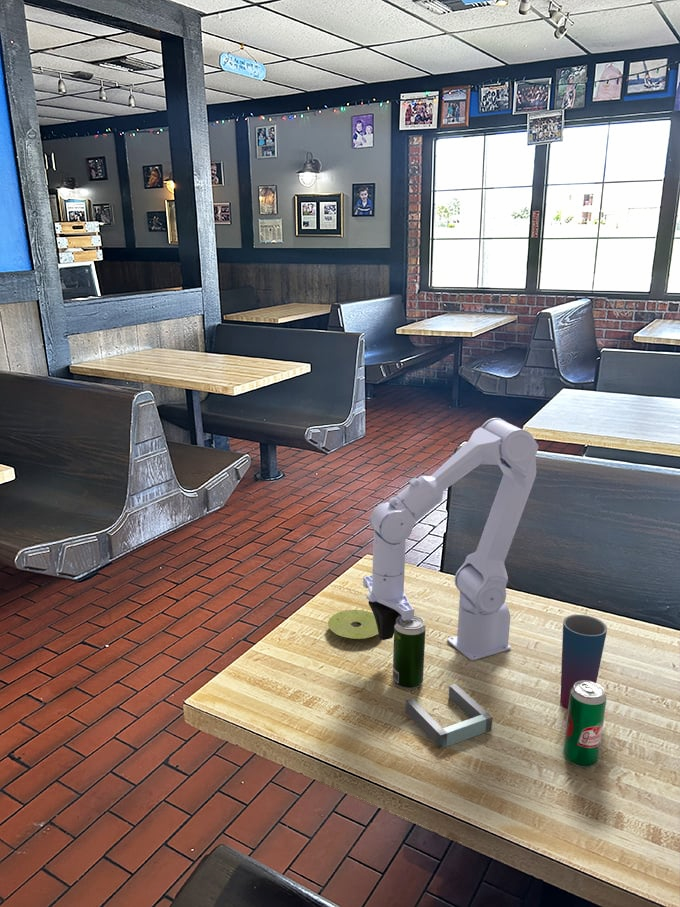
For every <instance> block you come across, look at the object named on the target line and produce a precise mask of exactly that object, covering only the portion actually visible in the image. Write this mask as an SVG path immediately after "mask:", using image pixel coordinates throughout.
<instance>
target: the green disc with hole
mask: <svg viewBox="0 0 680 907" xmlns="http://www.w3.org/2000/svg"><path fill="white" fill-rule="evenodd" d="M327 625H328V628H329V629H330V631H331V632H333V633H334V634H335V635H337V636H340V637H344V638H348V639H351V640H352V639H354V640H356V639H358V640H361V639H369V638H372V637H374V636H377V635H379V633H378V628H377V624H376V620H375V617H374V614H373V611H368V610H362V609H348V610H342V611H338V612H336V613H335V614H333V615H332V616H331V617H329V619H328V622H327Z"/></svg>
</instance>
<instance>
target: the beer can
mask: <svg viewBox="0 0 680 907" xmlns="http://www.w3.org/2000/svg"><path fill="white" fill-rule="evenodd" d="M401 617H402V615H401V616H399V617H398V618H397V619H396V623H395V625H394V635H393V650H392V652H393V654H392V658H393V659H392V682H393V683H394V685H395V686H396V687H397V688H398V689H400V690H404V691H415V690H416V689H419V688H420V687H421V686H422V684H423V682H424V670H425V668H424V666H425V652H426V651H425V650H426V648H425V646H426V630H427V629H426V625H425V620H424V619H423V618H422V617H421V616H418V615H415V614H414V619H410V620H406V621H404V620H403V619H402V618H401Z"/></svg>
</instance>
